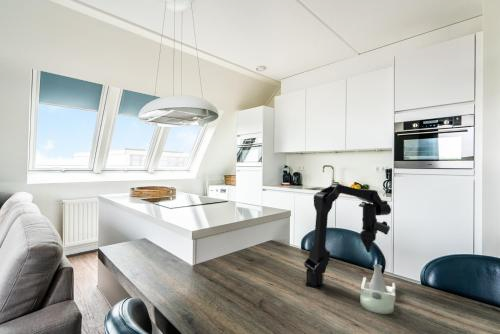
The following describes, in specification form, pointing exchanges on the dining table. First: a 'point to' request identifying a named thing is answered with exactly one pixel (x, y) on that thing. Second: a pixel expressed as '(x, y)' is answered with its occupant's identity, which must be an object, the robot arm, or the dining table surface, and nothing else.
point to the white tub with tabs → (377, 298)
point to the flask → (377, 280)
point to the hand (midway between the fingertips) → (369, 249)
